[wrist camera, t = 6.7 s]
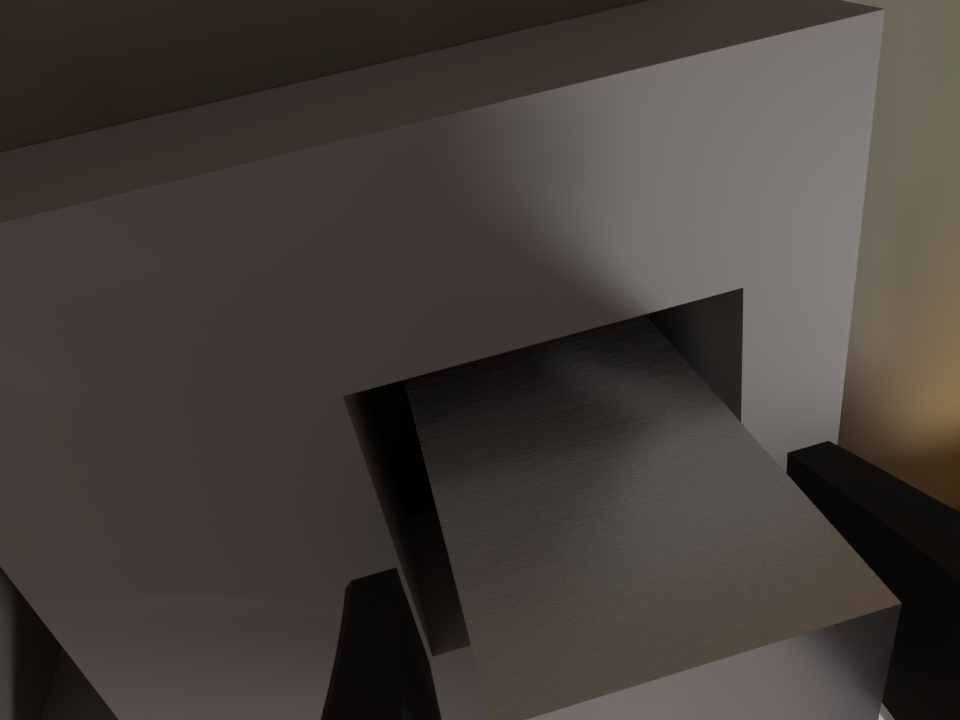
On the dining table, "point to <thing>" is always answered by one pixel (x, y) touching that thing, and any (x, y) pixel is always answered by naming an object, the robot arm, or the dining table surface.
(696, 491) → the square peg
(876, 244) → the dining table surface
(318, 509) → the socket block
